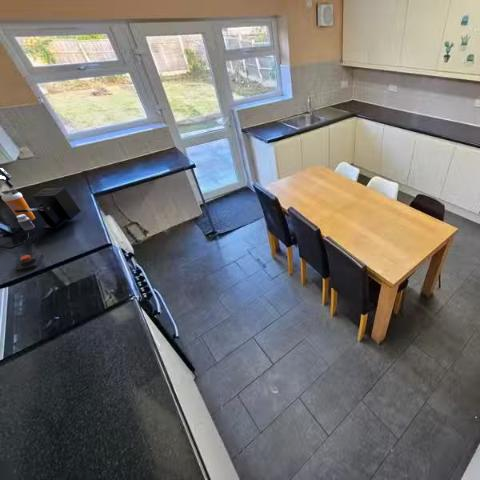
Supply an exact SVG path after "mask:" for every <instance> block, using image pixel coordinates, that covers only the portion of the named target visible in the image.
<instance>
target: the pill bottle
mask: <svg viewBox="0 0 480 480" xmlns="http://www.w3.org/2000/svg"><path fill="white" fill-rule="evenodd" d="M15 216H16V215H15ZM16 219H17V222H18V224H19V225H20V226H21V228H22V229H23V231H30V230H32V229H34V228H35V224H34V222H33V221H31V220H30V219H29V218H28V217H26V215H25V214H22V215H18V216H16Z"/></svg>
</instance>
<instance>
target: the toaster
mask: <svg viewBox="0 0 480 480" xmlns="http://www.w3.org/2000/svg"><path fill="white" fill-rule="evenodd" d="M32 199H34V201H35V202H36V203H37V204H38V205H40V204H42V205H43V206H45V205H46V204H49V206H50V207H51V208H52V209H53V211H54V212H55V213H56V215H57V216H58V217H59V219H62V218H67V221H69V220H70V221H71V220H73V219H74V218H75V217H77V215H79V213H81V211H82V210H81V209H80V207H79V206H78V204H77V203H76V202H75V200H74V199H73V198H72V196H71V194H70V193H69V191H68V190H67V189H66V187H51V188H50V187H49V188H47V187H46V188H43V189H41V190H40V191H38V192H37V193H35V194H33V195H32Z"/></svg>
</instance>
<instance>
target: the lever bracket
mask: <svg viewBox="0 0 480 480" xmlns="http://www.w3.org/2000/svg"><path fill="white" fill-rule="evenodd" d="M39 207H42V209H43V210H44V211H40V210H35V211H36V212H37V213H38V215H39V216H40V217H41V218H42V220H43V221H44V223H46V224H45V225H44V226H43V227H42V229H43V230H57V229H59V228H60V227H62V225H64V224H65V223H66V222H67V221H68V220H67V218H62V219H59V217H58V216H57V215H56V213H55V212H54V211H53V209H52V208H51V207H50V206H49V204H46V205H45V206H43V205H42V204H40V205H39V204H38V205H37V206H36V207H34V209H36V208H39Z"/></svg>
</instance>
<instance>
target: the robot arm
mask: <svg viewBox="0 0 480 480" xmlns="http://www.w3.org/2000/svg"><path fill="white" fill-rule="evenodd" d="M0 174H1V175H0V181H1V182H4V183H5V185H7V187H9V188H10V189H14V188H15V185H14V184H13V182H11V179H12V178H13V176H12V175H10V174H9V173H8V172H7V171H6V170H5V169H4V168H3V167H0Z"/></svg>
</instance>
